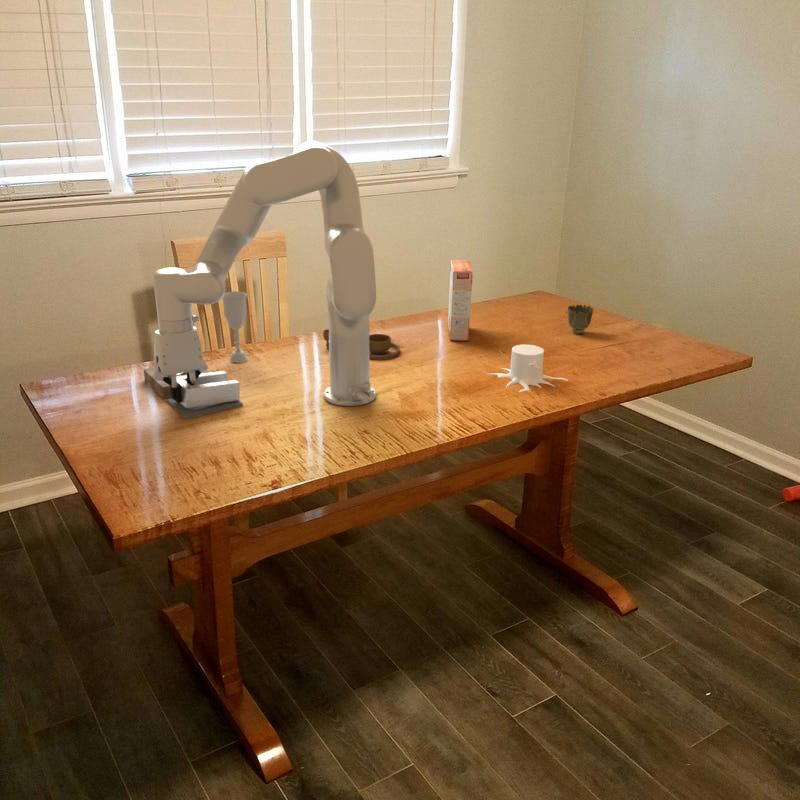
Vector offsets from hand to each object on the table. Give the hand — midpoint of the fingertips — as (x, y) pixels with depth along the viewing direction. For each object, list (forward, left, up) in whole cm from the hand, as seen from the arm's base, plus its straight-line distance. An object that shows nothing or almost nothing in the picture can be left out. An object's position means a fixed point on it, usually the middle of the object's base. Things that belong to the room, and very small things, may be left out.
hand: (183, 399), depth 185 cm
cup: (-11, -119, -3) cm, 119 cm away
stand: (+15, -4, -2) cm, 16 cm away
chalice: (+23, -24, -3) cm, 33 cm away
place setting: (+11, -58, -3) cm, 59 cm away
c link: (0, -5, -1) cm, 5 cm away
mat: (0, -5, -2) cm, 5 cm away
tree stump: (-29, -81, -3) cm, 86 cm away
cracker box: (+8, -88, -3) cm, 88 cm away
